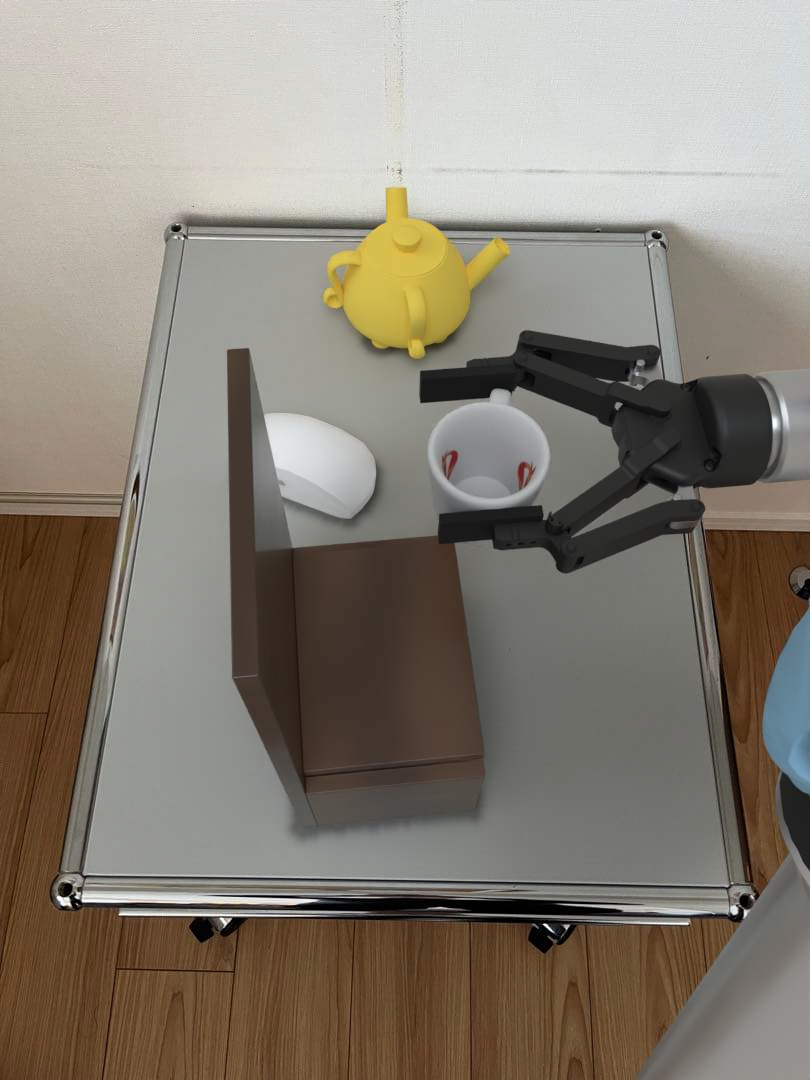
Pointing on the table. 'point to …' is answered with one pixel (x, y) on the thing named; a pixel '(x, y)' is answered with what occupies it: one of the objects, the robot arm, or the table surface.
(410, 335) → the teapot
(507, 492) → the cup
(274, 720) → the wooden chair
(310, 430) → the computer mouse
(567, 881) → the table surface
